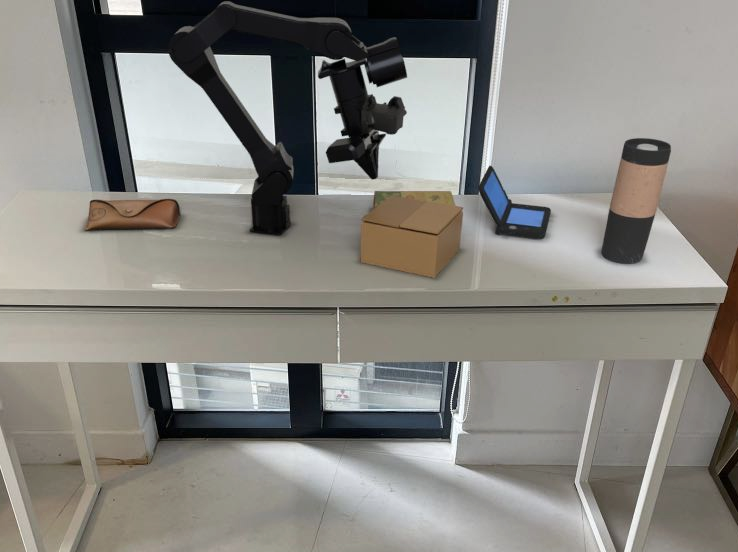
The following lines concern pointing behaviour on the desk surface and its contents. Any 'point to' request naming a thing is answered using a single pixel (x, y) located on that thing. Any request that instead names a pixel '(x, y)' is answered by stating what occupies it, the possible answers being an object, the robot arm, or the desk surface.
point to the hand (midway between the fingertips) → (374, 178)
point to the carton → (415, 196)
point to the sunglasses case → (133, 214)
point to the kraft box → (415, 240)
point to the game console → (512, 210)
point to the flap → (393, 211)
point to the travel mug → (635, 199)
